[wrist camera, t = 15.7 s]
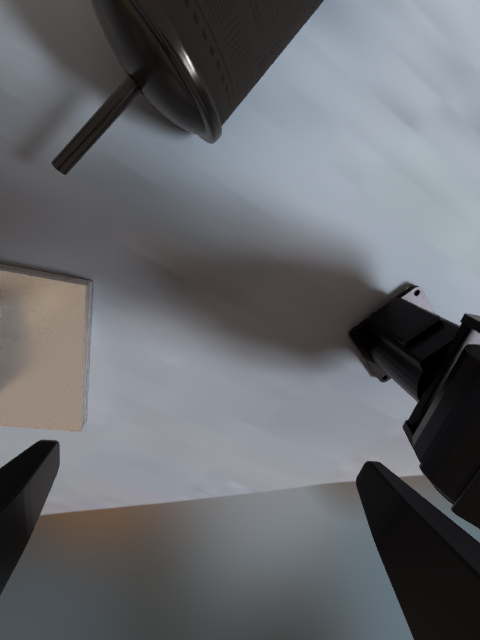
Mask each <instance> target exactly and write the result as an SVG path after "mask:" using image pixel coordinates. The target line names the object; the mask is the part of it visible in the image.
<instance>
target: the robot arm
mask: <svg viewBox="0 0 480 640" xmlns="http://www.w3.org/2000/svg"><path fill="white" fill-rule="evenodd" d="M415 291H416V293H415V294H414V292H415ZM460 322H462V324H461V325H460V326H459V325H457V324H454V323H452V322H450V321H448V320H446V319H444V318H442V317H440V316H438V315H436V314H435V313H434V311H433V309H432V307H431V305H430V303H429V301H428V299H427V297H426V294H425V292H424V290H423V289H422V287H419V286H416V285H414V286H412V287H410V288H409V289H407V290H406V291H404V292H403V293H402V294H400V295H399V296H398V297H396V298H395V299H393V300H392V301H391V302H389V303H388V304H386V305H385V306H384V307H382V308H381V309H379V310H378V311H377V312H375V313H374V314H372V315H371V316H370V317H368V318H367V319H366V320H364V321H363V322H361V323H360V324H359V325H357V326H356V327H354V328H353V329H352V330H351V331H350V332H349V338H350V339H351V341H352V342H353V344H354V345H355V346H356V348H357V349H358V351H359V352H360V354H361V355H362V357H363V358H364V359H365V361H366V362H367V364H368V365H369V367H370V368H371V370H372V371H373V373H374V374H375V375H376V377H377V378H378V379H379V380H380V381H381V382H386V381H388V380H389V379H391V378H392V379H393V380H394V381H395V382H396V383H397V384H398V385H400V386H401V387H402V388H403V389H404V390H405V391H406V392H407V393H408V394H409V395H410V396H412V397H413V398H414V399H415V400H416V401H417V402H418V403H417V405H416V407H415V408H414V410H413V412H412V414H411V416H410V417H409V419H408V420H406V421H405V423H404V425H403V429H404V431H405V433H406V435H407V437H408V439H409V441H410V443H411V445H412V447H413V449H414V451H415V453H416V455H417V457H418V459H419V461H420V463H421V464H420V465H419V467H420V469H421V471H422V473H423V474H424V475H425V476H426V477H427V479H428V480H429V481H430V482H431V483H432V485H433V486H434V487H435V488H436V490H437V491H438V492H439V493H441V495H442V496H444V497H445V498H446V499H447V500H448V501H449V502H451V503H452V504H453V506H452V507H451V510H452V511H453V512H454V513H455V514H456V515H458V516H459V517H461V518H463V519H464V520H466V521H468V522H469V523H471V524H473V525H474V526H476V527H478V528H479V529H480V316H477V315H472V314H466V313H465V314H464V316H463V318H462V320H461V321H460ZM356 333H357V335H356V336H354V335H355V334H356ZM383 376H384V377H383ZM59 464H60V445H59V442H58V441H56V440H40V441H38V442H36V443H35V444H33V445H32V446H31V447H29V448H28V449H26V450H25V451H24V452H22V453H21V454H19V455H18V456H17V457H15V458H14V459H12V460H11V461H10V462H8V463H7V464H6V465H4V466H3V467H1V468H0V595H1V593H2V591H3V589H4V588H5V586H6V584H7V582H8V580H9V578H10V576H11V574H12V572H13V570H14V569H15V567H16V565H17V563H18V561H19V559H20V557H21V555H22V553H23V551H24V549H25V547H26V545H27V543H28V541H29V539H30V537H31V534H32V532H33V530H34V527H35V525H36V523H37V520H38V518H39V515H40V513H41V511H42V508H43V506H44V504H45V501H46V499H47V496H48V494H49V492H50V489H51V487H52V484H53V482H54V480H55V477H56V475H57V472H58V469H59ZM356 486H357V489H358V492H359V496H360V499H361V502H362V505H363V508H364V511H365V514H366V517H367V521H368V524H369V527H370V530H371V533H372V536H373V539H374V542H375V544H376V547H377V549H378V552H379V554H380V557H381V559H382V562H383V564H384V566H385V569H386V572H387V574H388V577H389V579H390V581H391V584H392V587H393V589H394V591H395V594H396V596H397V599H398V601H399V604H400V606H401V609H402V611H403V613H404V616H405V619H406V621H407V623H408V626H409V628H410V631H411V633H412V636H413V638H414V640H480V543H479V542H478V541H476V540H475V539H474V538H473V537H472V536H470V535H469V534H468V533H467V532H466V531H464V530H463V529H462V528H461V527H459V526H458V525H457V524H456V523H454V522H453V521H452V520H451V519H449V518H448V517H447V516H446V515H444V514H443V513H442V512H441V511H440V510H438V509H437V508H436V507H434V506H433V505H432V504H431V503H430V502H428V501H427V500H426V499H425V498H423V497H422V496H421V495H420V494H418V493H417V492H416V491H415V490H414V489H412V488H411V487H410V486H409V485H407V484H406V483H405V482H403V481H402V480H401V479H400V478H399V477H398V476H396V475H395V474H394V473H393V472H391V471H390V470H389V469H388V468H386V467H385V466H384V465H383V464H381V463H380V462H376V461H367V462H365V464H364V465H363V467H362V469H361V471H360V473H359V474H358V476H357V478H356Z"/></svg>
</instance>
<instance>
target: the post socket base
mask: <svg viewBox="0 0 480 640" xmlns="http://www.w3.org/2000/svg"><path fill="white" fill-rule="evenodd" d="M92 291H93V281H91V280H86V279H81V278H75V277H70V276H64V275H59V274H54V273H48V272H43V271H37V270H32V269H27V268H21V267H16V266H10V265H5V264H0V426H10V427H24V428H37V429H50V430H64V431H77V432H81V431H82V429H83V427H84V425H85V423H86V421H87V405H88V383H89V360H90V337H91V314H92Z"/></svg>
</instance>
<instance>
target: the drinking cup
mask: <svg viewBox="0 0 480 640" xmlns="http://www.w3.org/2000/svg"><path fill="white" fill-rule="evenodd" d="M323 1H324V0H91V2H92V5H93V8H94V11H95V13H96V16H97V18H98V20H99V23H100V25H101V28H102V30H103V32H104V34H105V36H106V38H107V40H108V42H109V44H110V46H111V48H112V50H113V51H114V53H115V55H116V57H117V59H118V61H119V62H120V64H121V66H122V67H123V69H124V70H125V72H126V73H127V75H128V77H127V78H126V79H125V80H124V81H123V82H122V83H121V84H120V86H119V87H118V88H117V89H116V90H115V91H114V92H113V93H112V95H111V96H110V97H109V98H108V99H107V100H106V101H105V103H104V104H103V105H102V106H101V107H100V108H99V109H98V110H97V112H96V113H95V114H94V115H93V116H92V117H91V118H90V119H89V121H88V122H87V123H86V124H85V125H84V126H83V127H82V128H81V130H80V131H79V132H78V133H77V134H76V135H75V136H74V137H73V139H72V140H71V141H70V142H69V143H68V144H67V145H66V146H65V148H64V149H63V150H62V151H61V152H60V153H59V154H58V155H57V157H56V158H55V159H54V160H53V161H52V162H51V163H52V165H53V166H54V167H55V168H56V169H57V170H58V171H60V172H61V173H62V174H64V175H66V174H67V173H68V172H69V171H70V170H71V169H72V168H73V166H74V165H75V164H76V163H77V162H78V161H79V160H80V159H81V158H82V157H83V155H84V154H85V153H86V152H87V151H88V150H89V149H90V148H91V147H92V146H93V144H94V143H95V142H96V141H97V140H98V139H99V138H100V137H101V136H102V134H103V133H104V132H105V131H106V130H107V129H108V128H109V127H110V126H111V125H112V123H113V122H114V121H115V120H116V119H117V118H118V117H119V116H120V115H121V114H122V112H123V111H124V110H125V109H126V108H127V107H128V106H129V105H130V104H131V102H132V101H133V100H134V99H135V98H136V97H137V96H138V95H139V94H140V93H142V95H143V96H144V97H145V98H146V99H147V100H148V101H149V102H150V103H151V104H152V105H153V106H154V107H155V108H156V109H157V110H158V111H159V112H160V113H162V114H163V115H164V116H165V117H166V118H168V119H169V120H170V121H171V122H173V123H174V124H176V125H177V126H179V127H181V128H182V129H184V130H186V131H188V132H191V133H193V134H196V135H198V136H199V137H200V138H202V139H203V140H204V141H206V142H208V143H210V144H213V143H215V142H216V141H217V140H218V139H219V138H220V136H221V134H222V127H221V126H222V125H223V124H224V123H225V121H226V120H227V119H228V118H229V116H230V115H231V114H232V113H233V112H234V110H235V109H236V108H237V107H238V105H239V104H240V103H241V102H242V100H243V99H244V98H245V97H246V96H247V94H248V93H249V92H250V91H251V89H252V88H253V87H254V86H255V84H256V83H257V82H258V81H259V80H260V78H261V77H262V76H263V75H264V73H265V72H266V71H267V70H268V68H269V67H270V66H271V65H272V64H273V62H274V61H275V60H276V59H277V57H278V56H279V55H280V54H281V52H282V51H283V50H284V49H285V48H286V46H287V45H288V44H289V43H290V41H291V40H292V39H293V38H294V36H295V35H296V34H297V33H298V32H299V30H300V29H301V28H302V27H303V25H304V24H305V23H306V22H307V20H308V19H309V18H310V17H311V16H312V14H313V13H314V12H315V11H316V9H317V8H318V7H319V6H320V4H321V3H322V2H323Z"/></svg>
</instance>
